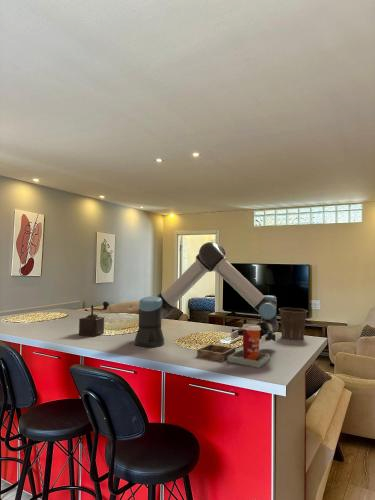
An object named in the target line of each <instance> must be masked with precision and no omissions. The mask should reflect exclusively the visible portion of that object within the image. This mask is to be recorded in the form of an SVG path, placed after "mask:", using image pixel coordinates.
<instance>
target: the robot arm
mask: <svg viewBox="0 0 375 500" xmlns="http://www.w3.org/2000/svg"><path fill="white" fill-rule="evenodd" d="M227 259H228V258H227V255H226V251H225V248H224V246H222V245H221V244H220V243H216V242H210V241H208V242H205V243H203V244H202V245H201V246H200V248H199V250H198V254H197V255H196V256H195V261H194V262H193V263H192V264H190V266H189V267H188V268H187V269H185V271H184V272H183V273H182V274H181V275H180V276H179V277H178V278H177V279H176V280H175V281H174V282H173V283H172V284H171V285H170V286H169V287H168V288H167V289H166V290H161V292H160V293H158V295H157V296H145V297H142V298H140V299H139V304H138V329H137V332H136V336H135V338H134V345H135V346H139V347H145V348H147V347H148V348H154V347H155V348H156V347H161V346H163V345H165V337H164V333H163V330H162V319H166V318H168V317H169V316H170V315H172V312H173V310H174V309H175V308H176V307H178V306H177V305H178V302H179V301H180V299H182V298H183V296H184V295H185V294H187V293H188V291H189V290H191V288H193V287H194V286H195V285H196V283H197V282H198V281H200V279H202V278H203V277H204V276H205V275H207V273H211V272H215V273H217V274H218V275H219V276H220V277H221V278H222V279H223V280H224V281H225V282H226V283H227V284H228V285H230V287H232V288H233V290H235V291H236V292H237V293H238V294H239V295H240V297H242V298H243V299H244V300H245V301H246V302H247V303H248V304H249V305H250V306H252V308H253V309H254V310H255V311H256V312H258V314H259V316H260V322H257V323H256V325H259V326H260V328H261V330H260V341H261V342H260V343H261V344H265V343H266V342H269V341H271V340H272V341H273V342H276V332H277V331H278V329H279V323H278V321H277V308H278V307H277V303H278V302H277V297H276V295H269V294H268V295H264V294H263V293H262V292H261V291H260V290H259V289H258V288H256V287H255V285H253V284H252V283H251V282H250V281H249V280H248V279H247V278H246V277H244V275H242V273H241V272H240V271H238V269H236V268H235V267H234V266H233V265H232V264H231V263H230V262H229V261H228V260H227ZM239 336H240V337H241V336H242V337H243V329H242V327H240V328H232V329H231V333H230V339H231V340H234V339H236V338H238V337H239Z"/></svg>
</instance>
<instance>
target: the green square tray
mask: <svg viewBox="0 0 375 500" xmlns="http://www.w3.org/2000/svg"><path fill="white" fill-rule="evenodd" d="M270 360H271V359H270V353H264V352H258V361H256V360H250V359H244V355H243V349H237V350H235V352H234V353H233V354H231V355H229V356H228V359H227V363H230V364H235V365H240V366H244V367H245V366H246V367H250V368H251V367H252V368H257V369H260V368H261V367H263V366H264V365H265V364H266V363H267V362H269V361H270Z"/></svg>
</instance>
